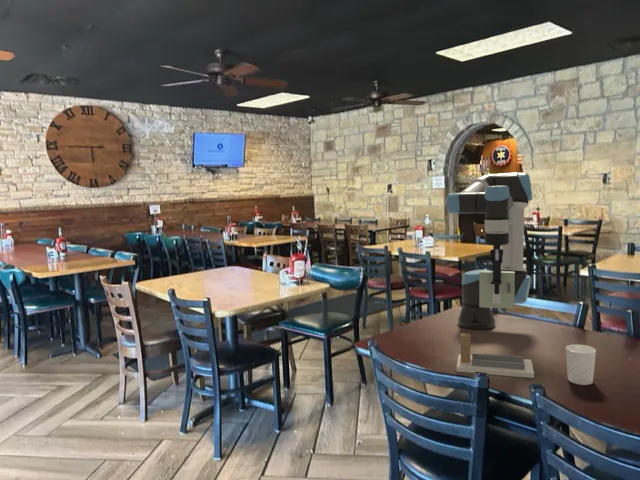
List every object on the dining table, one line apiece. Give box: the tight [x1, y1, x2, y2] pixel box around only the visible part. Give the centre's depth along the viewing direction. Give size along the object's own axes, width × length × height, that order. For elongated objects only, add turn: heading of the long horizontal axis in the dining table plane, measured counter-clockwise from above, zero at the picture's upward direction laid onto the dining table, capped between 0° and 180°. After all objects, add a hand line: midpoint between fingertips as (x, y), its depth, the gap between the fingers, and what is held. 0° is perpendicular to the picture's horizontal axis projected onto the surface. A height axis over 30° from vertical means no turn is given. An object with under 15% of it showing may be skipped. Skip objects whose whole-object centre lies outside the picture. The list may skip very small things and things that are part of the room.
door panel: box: [479, 270, 515, 310], centre depth 163 cm, size 11×4×12 cm, turn 70°
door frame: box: [456, 332, 535, 379], centre depth 158 cm, size 23×12×10 cm, turn 71°
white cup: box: [565, 343, 597, 386], centre depth 146 cm, size 8×8×10 cm
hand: (496, 301), depth 163 cm, fingers closed on door panel, 3 cm apart
